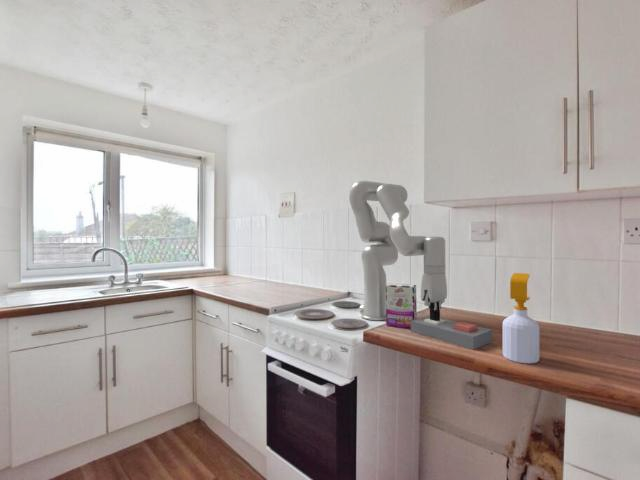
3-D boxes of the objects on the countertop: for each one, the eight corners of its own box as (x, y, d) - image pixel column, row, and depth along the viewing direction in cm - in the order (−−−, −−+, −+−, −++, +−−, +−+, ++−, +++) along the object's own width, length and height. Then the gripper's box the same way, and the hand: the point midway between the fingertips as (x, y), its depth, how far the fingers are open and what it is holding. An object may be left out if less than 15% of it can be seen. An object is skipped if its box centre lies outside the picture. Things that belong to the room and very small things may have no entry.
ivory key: (423, 325, 121) (423, 319, 121) (432, 323, 125) (432, 317, 125) (436, 329, 117) (436, 322, 117) (445, 326, 120) (445, 320, 120)
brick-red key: (453, 330, 112) (453, 324, 112) (462, 328, 115) (462, 321, 115) (468, 334, 107) (468, 327, 107) (477, 331, 111) (477, 324, 111)
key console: (410, 331, 122) (410, 320, 122) (430, 325, 129) (430, 315, 129) (473, 349, 103) (473, 336, 103) (492, 341, 110) (492, 329, 110)
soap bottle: (541, 357, 96) (541, 273, 95) (535, 367, 89) (536, 276, 89) (506, 350, 102) (506, 271, 101) (499, 358, 95) (499, 274, 95)
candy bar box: (417, 326, 129) (416, 284, 129) (414, 329, 125) (414, 286, 124) (389, 322, 134) (388, 282, 134) (385, 326, 130) (385, 284, 130)
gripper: (437, 268, 128) (438, 314, 128) (413, 271, 119) (413, 321, 119) (455, 269, 122) (455, 318, 122) (430, 272, 113) (431, 325, 113)
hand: (434, 319), depth 121 cm, fingers closed
